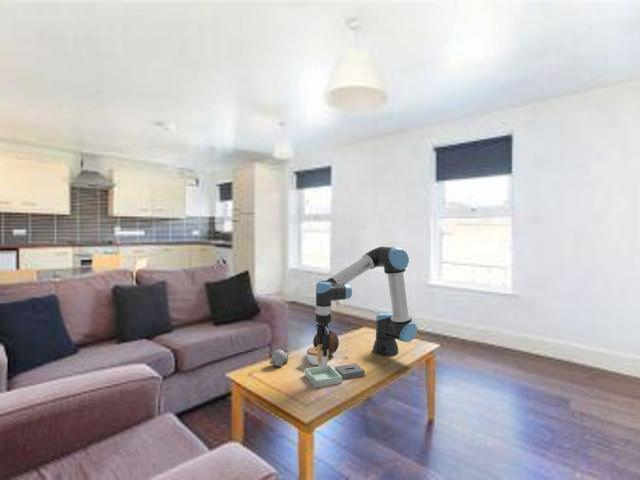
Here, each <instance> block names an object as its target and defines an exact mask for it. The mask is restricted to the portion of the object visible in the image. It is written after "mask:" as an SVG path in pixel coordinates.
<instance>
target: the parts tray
mask: <svg viewBox="0 0 640 480" xmlns="http://www.w3.org/2000/svg"><path fill="white" fill-rule="evenodd" d="M304 376H305V378H306V379H308V381H309V382H310V383H311V384H312V386H313V387H314V388H315V389H320V388H321V387H326V386H331V385H338V384H342V383H343V379H342V376H341V375H340V374H339V373H338V372H337V371H336V370H335V367H332V366H331V364H327V368H323V369H318V366H315V367H314V366H313V367H306V368H304Z"/></svg>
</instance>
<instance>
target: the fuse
mask: <svg viewBox="0 0 640 480" xmlns="http://www.w3.org/2000/svg"><path fill="white" fill-rule="evenodd" d="M321 349H322V344H319V345H317V361H318V365H317V367H318V369H323V368H327V365H328V362H329V361H330V359H329V356H330V355H329V349H327V362H325V363H321Z"/></svg>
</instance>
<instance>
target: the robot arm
mask: <svg viewBox="0 0 640 480" xmlns="http://www.w3.org/2000/svg"><path fill="white" fill-rule="evenodd" d="M409 263H410V259H409V255H408V253H407V252H406V250H404V248H400V247H393V246H392V247H391V246H378V247H376V248H374V249H371V250H370V251H368V252H366V253H365V254H363V255H362V256H361V258H360V259H359V260H357V261H355V262H353V263H352V264H350V265H349V266H347V267H345V268H344V269H342V270H341V271H339V272H337V273H336V274H334V275H332V276H331V277H330V278H327V279H326V280H319V281H317V283H316V285H315V308H314V311H315V323H316V325H315V327H316V334H317V344H322V349H321V363H325V362H327V363H328V361H327V349H329V344H330V333H331V331H330V330H331V329H329V323H331V322H332V301H333V302H335V301H343V300H344V301H345V300H348V299H349V300H350V299H351V297H353V296H352V295H353V289H352V286H351V285H350V284H349V283H350V282H352V281H353V280H355V279H356V278H358V277H359V276H361V275H363V274H364V273H365V272H368V271H370V270H373V269H376V268H383V271H384V274H386V275H387V279H388V287H389V288H388V289H389V295H390V303H391V310H392V312H383V313H377V315H376V317H375V318H376V319H375V340H374V342H373V345H372V351H373V353H375V354H377V355H378V356H379V355H380V356H385V355H391V356H395V355H394V354H396V355H398V353H399V347H398V342H397V340H398V341H400V342H403V343H410V342H412V341H413V340H414V339H415V338H416V336H417V333H418V326H417V324H416V323H415V322H413V320H412V316H411V315H410V313H409V310H408V309H409V308H408V302H407V301H408V300H407V293H406V287H405V286H406V285H405V278H404V273H405V272H406V269H407V267H408V264H409ZM328 329H329V330H328Z"/></svg>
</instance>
